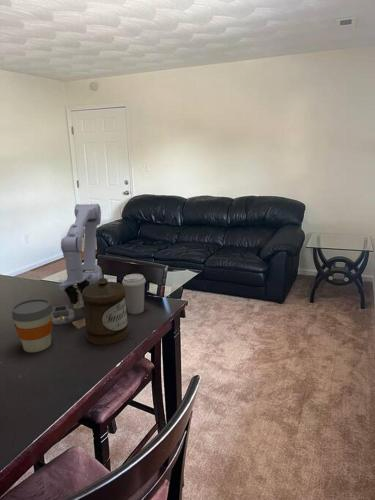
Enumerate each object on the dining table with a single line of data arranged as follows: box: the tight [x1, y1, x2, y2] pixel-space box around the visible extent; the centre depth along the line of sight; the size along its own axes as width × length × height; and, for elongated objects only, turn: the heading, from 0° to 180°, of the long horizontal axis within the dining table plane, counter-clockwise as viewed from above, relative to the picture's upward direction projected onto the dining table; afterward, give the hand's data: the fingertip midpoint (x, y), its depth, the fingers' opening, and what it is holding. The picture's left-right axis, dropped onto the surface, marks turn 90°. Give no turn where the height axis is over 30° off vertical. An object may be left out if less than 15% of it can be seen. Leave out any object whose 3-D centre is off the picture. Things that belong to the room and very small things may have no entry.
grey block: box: [72, 287, 84, 310], centre depth 140 cm, size 5×3×7 cm, turn 81°
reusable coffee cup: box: [11, 298, 53, 353], centre depth 126 cm, size 13×13×15 cm
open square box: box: [52, 304, 70, 319], centre depth 145 cm, size 6×8×2 cm
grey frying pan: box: [51, 308, 76, 326], centre depth 145 cm, size 18×10×2 cm, turn 127°
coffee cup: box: [121, 273, 147, 315], centre depth 151 cm, size 10×10×15 cm
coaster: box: [71, 317, 86, 330], centre depth 143 cm, size 6×6×1 cm
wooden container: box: [83, 277, 129, 346], centre depth 132 cm, size 15×15×22 cm
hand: (78, 301), depth 141 cm, fingers closed on grey block, 4 cm apart
